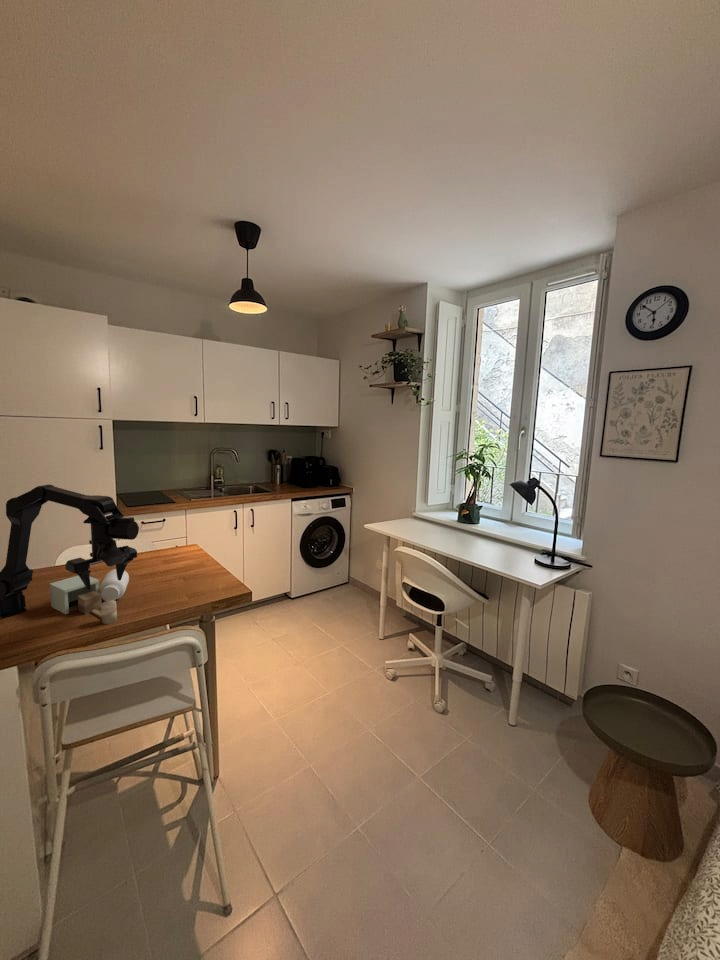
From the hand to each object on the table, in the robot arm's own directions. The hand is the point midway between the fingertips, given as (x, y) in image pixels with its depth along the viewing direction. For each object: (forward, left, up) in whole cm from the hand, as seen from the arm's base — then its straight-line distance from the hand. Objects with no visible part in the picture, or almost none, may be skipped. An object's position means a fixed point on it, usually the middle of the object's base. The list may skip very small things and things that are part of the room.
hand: (104, 584), depth 125 cm
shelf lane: (0, +18, -12) cm, 21 cm away
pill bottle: (+15, +21, -8) cm, 27 cm away
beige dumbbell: (0, +5, -12) cm, 13 cm away
